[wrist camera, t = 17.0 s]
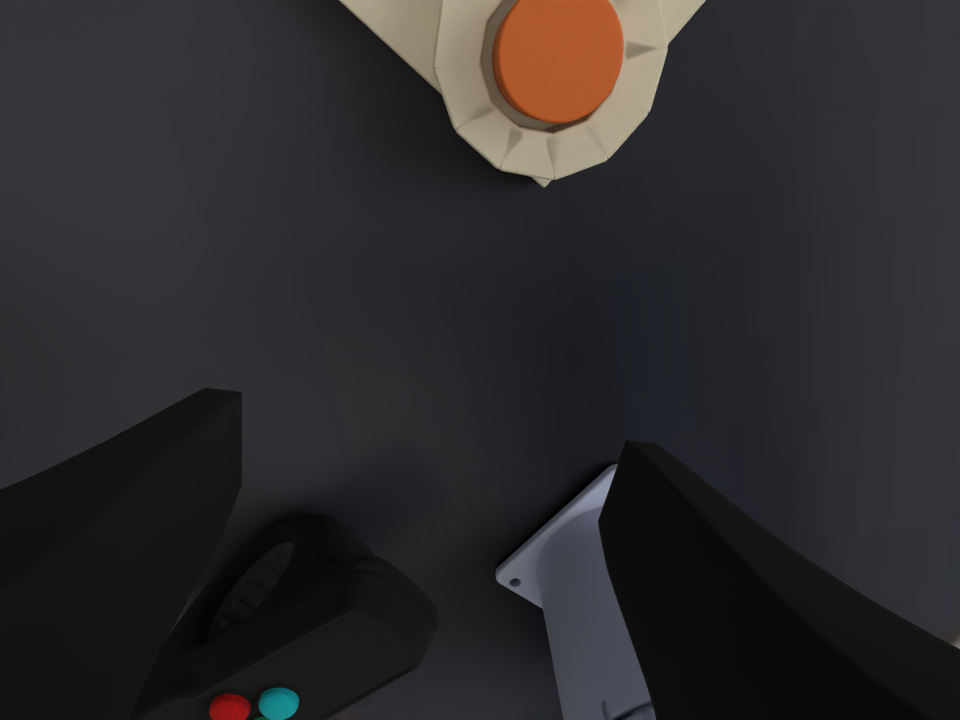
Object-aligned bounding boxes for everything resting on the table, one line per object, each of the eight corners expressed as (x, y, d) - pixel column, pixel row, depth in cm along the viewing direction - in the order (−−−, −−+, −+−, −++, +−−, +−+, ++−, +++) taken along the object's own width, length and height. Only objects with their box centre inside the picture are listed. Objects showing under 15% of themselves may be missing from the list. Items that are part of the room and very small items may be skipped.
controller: (172, 572, 25) (17, 844, 16) (389, 429, 22) (350, 657, 13) (244, 625, 27) (141, 898, 18) (453, 497, 24) (458, 740, 15)
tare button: (628, 51, 15) (651, 46, 13) (551, 144, 16) (562, 149, 14) (546, -40, 14) (559, -57, 12) (468, 65, 15) (470, 61, 13)
